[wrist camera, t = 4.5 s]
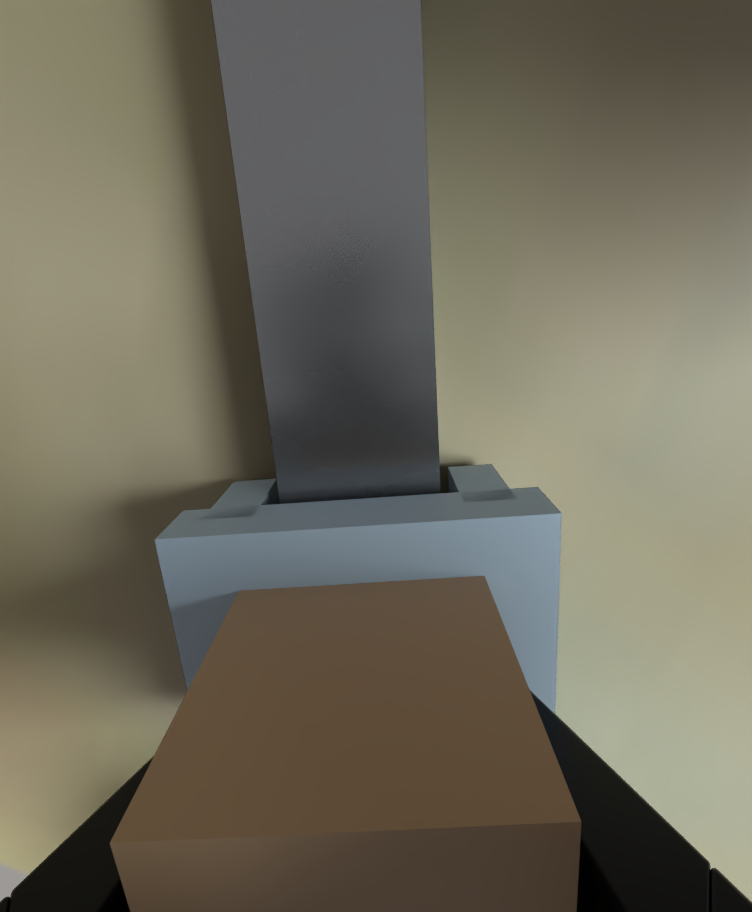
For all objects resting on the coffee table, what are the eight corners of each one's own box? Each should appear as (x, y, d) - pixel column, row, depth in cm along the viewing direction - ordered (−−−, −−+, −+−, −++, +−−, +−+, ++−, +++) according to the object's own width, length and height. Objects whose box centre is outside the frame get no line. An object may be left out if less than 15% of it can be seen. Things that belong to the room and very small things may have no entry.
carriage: (516, 462, 10) (743, 716, 4) (514, 700, 12) (672, 1157, 5) (210, 483, 10) (-64, 758, 4) (251, 714, 12) (104, 1171, 6)
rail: (465, -339, 7) (497, -578, 5) (483, 739, 13) (502, 816, 11) (126, -300, 7) (37, -517, 5) (289, 750, 13) (273, 826, 11)
